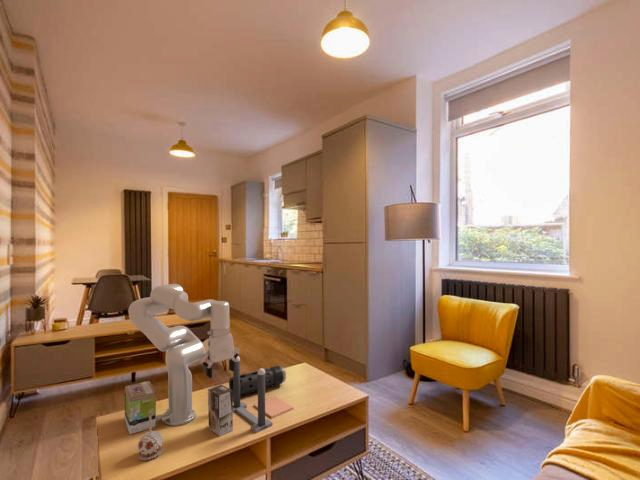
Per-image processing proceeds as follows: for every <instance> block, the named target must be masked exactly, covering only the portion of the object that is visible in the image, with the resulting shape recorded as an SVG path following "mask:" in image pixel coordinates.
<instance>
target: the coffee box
mask: <svg viewBox="0 0 640 480" xmlns="http://www.w3.org/2000/svg"><path fill="white" fill-rule="evenodd" d="M232 392H233V390H231V389H229V387H226V386H225V385H223V384H220V385H216V386H214V387H212V388H209V389H207V395H208V396H207V403H208V405H207V406H208V408H207V410H208V411H207V412H208V413H207V414H208V429H209V430H210V431H211V432H213V433H215V434H216V435H217V436H218V437H221V436H223V435H225V434H227V433H229V432H232V431H233V429H234V427H233V425H234V422H233V421H234V419H233V417H234V416H233V415H234V414H233V393H232Z"/></svg>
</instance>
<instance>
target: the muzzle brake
mask: <svg viewBox="0 0 640 480" xmlns="http://www.w3.org/2000/svg"><path fill="white" fill-rule="evenodd" d="M263 369H264V370H265V390H269V389H271V388H273V387H276V386H278V385H279V386H280V385H281V384H283V383H285V382H286V378H287V375H286V370H285V368H284V366H282V365H275V366H271V367H269V368H263ZM257 372H258V370H256V371H251V372H248V373H244V374H240V397H242V396H246V395H249V394H252V393H254V392H255V393H256V392H258V374H257ZM228 388H229V389H231V390H233V376H231V377H230V378H229V381H228ZM232 393H233V392H232Z"/></svg>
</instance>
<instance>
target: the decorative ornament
mask: <svg viewBox="0 0 640 480" xmlns="http://www.w3.org/2000/svg"><path fill="white" fill-rule="evenodd" d="M136 445H137V451H138V454H137V458H138V459H139V460H140V461H147V460H149V461H150V460H151V459H155V458H156V457H159V456H160V455H161V454H162V453H163V435H162V434H161V433H160V432H159V431H156V430H152V413H149V429H148V431H147V432H146V433H144V434H142V436H140V438H139V440H138V443H137V444H136Z"/></svg>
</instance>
